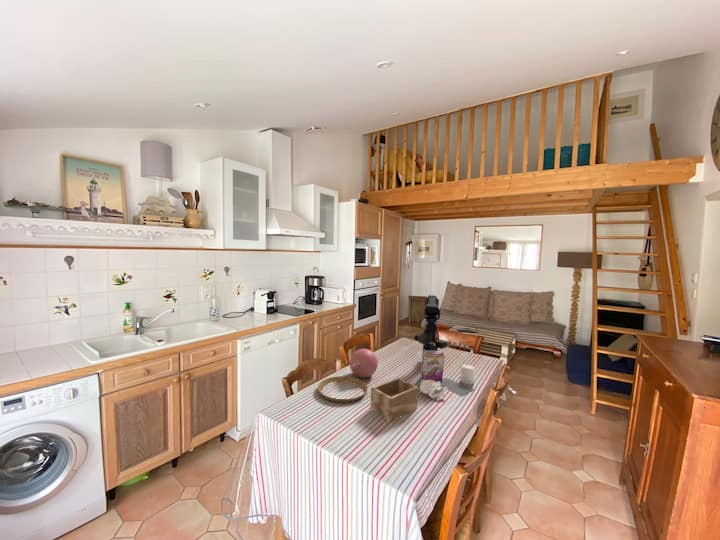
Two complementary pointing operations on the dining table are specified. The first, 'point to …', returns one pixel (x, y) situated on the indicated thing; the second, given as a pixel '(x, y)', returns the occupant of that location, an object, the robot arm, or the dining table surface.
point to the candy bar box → (432, 365)
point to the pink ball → (363, 363)
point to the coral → (432, 389)
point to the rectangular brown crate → (394, 398)
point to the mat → (455, 387)
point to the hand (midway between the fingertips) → (429, 356)
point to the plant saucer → (342, 378)
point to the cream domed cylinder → (467, 374)
